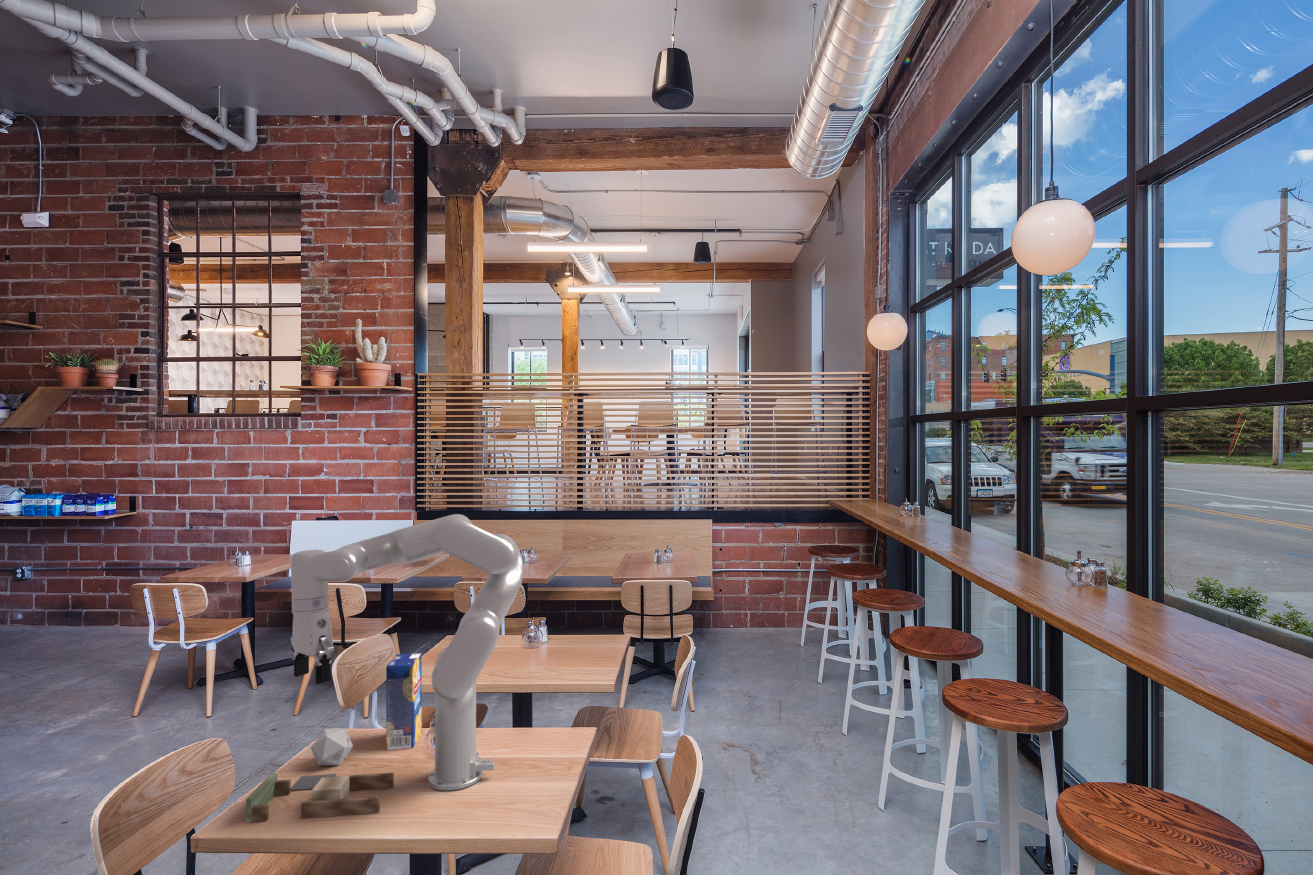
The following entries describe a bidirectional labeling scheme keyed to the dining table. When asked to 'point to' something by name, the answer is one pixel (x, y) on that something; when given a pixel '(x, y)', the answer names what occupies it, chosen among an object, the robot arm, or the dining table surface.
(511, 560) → the robot arm
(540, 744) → the dining table surface
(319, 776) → the mat
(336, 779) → the oak block
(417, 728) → the beverage box
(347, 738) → the die
